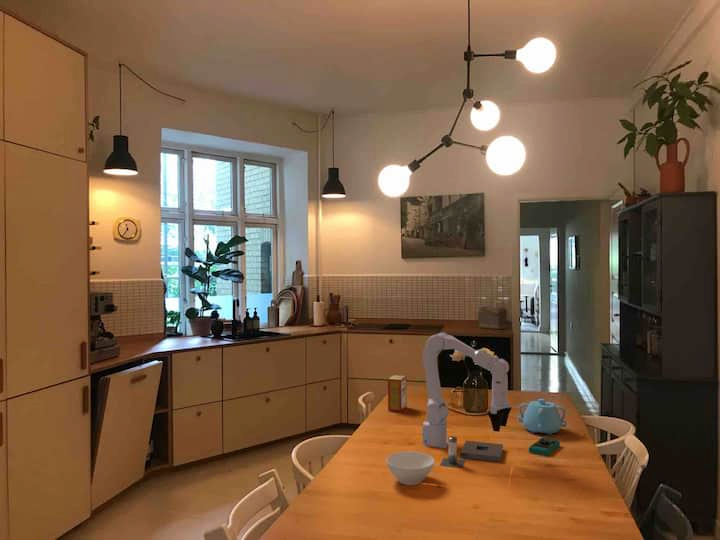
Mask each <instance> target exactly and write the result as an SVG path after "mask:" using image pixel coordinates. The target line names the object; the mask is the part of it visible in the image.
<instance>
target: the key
mask: <svg viewBox="0 0 720 540" xmlns="http://www.w3.org/2000/svg"><path fill="white" fill-rule="evenodd" d="M447 441H448V445H447V448H448V449H447V451H448V456H447V458H448V463H449V464H452V465H454V464H457V460H458V437H456V436H447Z"/></svg>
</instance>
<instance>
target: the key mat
mask: <svg viewBox="0 0 720 540" xmlns="http://www.w3.org/2000/svg"><path fill="white" fill-rule="evenodd" d="M466 461H467V460H466V459H457V464H454V465H452V464H449V463H448V457H447V458H446V457H443V458H442V460H441V462H440V464H439V467H448V468H456V469H463V468H464V465H465V463H466Z"/></svg>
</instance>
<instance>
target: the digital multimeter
mask: <svg viewBox="0 0 720 540" xmlns="http://www.w3.org/2000/svg"><path fill="white" fill-rule="evenodd" d="M560 444H561V442H560V441H559V440H558V439H554V438H550V437H541V438H540V439H538V440H537V441H536V442H534V443H533V444H531V445H530V446H528V452H529V453H531V454H535V455H539V456H543V455H544V456H543V457H549V456H550V454H552V453H553V452H554V451H555V450H557V449H558V448H559V447H561V445H560Z"/></svg>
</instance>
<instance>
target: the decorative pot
mask: <svg viewBox="0 0 720 540" xmlns="http://www.w3.org/2000/svg"><path fill="white" fill-rule="evenodd" d="M524 406H525V407H526V408H525V411H524V413H523V410H522V407H524ZM559 410H562V412H563V413H562V416H561V414H560V412H559ZM518 411H519V412H518V413H519V414H520V415H519V416H518V417H517V421H518V422H519V423H523V426H524V428H525V429H526V430H528V431H529V432H530V433H531V434H537V433H541V434H542V433H543V434H546V435H549V436H553V435H554V434H555V433H558V432H559V430H560V429H561V428H565V427H567V426H568V422H567V421H566V420H565V417H566V415H567V411H566V408H564V407H563V406H561V405H558V406H557V405H556V404H555V403H554V402H550V401H547V399H545V398H538V399H537V400H532V401H529V403H527V402H523V403H521V404H520V405H519V407H518ZM563 423H564V424H563ZM553 433H554V434H553Z"/></svg>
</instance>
